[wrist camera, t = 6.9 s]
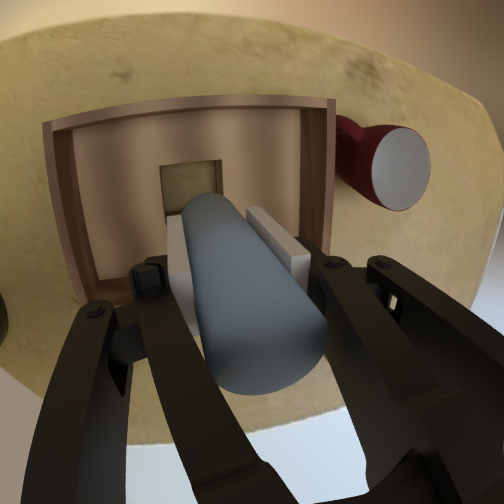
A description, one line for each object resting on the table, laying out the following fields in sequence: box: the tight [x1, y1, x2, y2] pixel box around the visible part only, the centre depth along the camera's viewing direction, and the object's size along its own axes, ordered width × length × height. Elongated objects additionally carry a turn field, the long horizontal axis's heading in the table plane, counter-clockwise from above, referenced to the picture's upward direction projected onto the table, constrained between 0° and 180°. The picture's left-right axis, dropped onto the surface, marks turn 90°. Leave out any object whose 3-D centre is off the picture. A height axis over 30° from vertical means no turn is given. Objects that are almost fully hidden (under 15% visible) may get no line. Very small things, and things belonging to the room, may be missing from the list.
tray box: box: [42, 95, 336, 308], centre depth 25 cm, size 22×16×9 cm
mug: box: [335, 115, 430, 211], centre depth 27 cm, size 10×8×10 cm
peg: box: [181, 193, 329, 395], centre depth 13 cm, size 4×4×12 cm
